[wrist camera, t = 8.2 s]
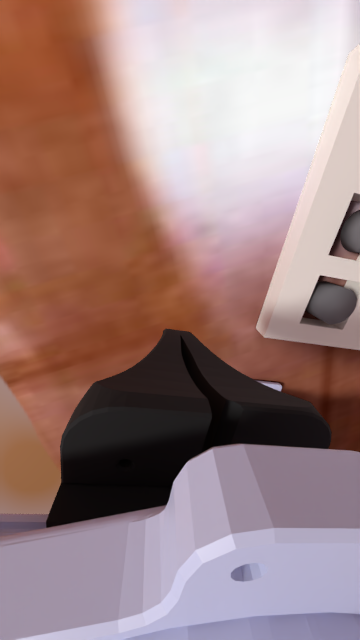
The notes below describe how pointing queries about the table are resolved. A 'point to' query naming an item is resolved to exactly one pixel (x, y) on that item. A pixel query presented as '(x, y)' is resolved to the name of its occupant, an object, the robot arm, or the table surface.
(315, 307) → the button inner
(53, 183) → the table surface
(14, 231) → the table surface
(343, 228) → the button middle
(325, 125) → the button board
